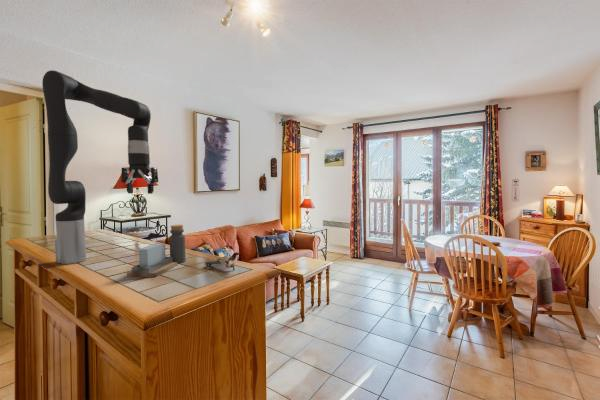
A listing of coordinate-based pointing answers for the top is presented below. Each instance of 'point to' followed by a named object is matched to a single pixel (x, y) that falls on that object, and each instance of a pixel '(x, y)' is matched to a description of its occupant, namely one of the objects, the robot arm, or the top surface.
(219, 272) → the top surface
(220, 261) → the figurine
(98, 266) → the top surface
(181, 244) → the bottle
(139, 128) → the robot arm
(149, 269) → the grey piece
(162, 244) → the door
